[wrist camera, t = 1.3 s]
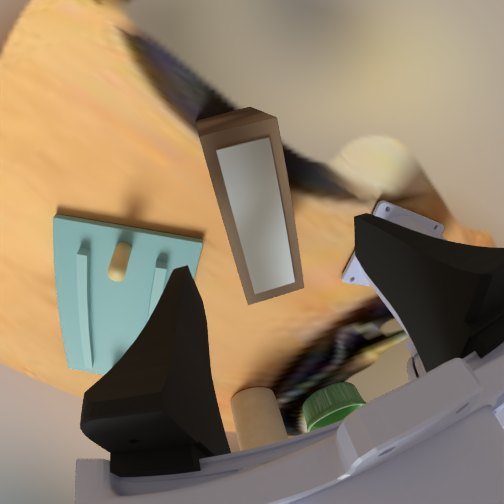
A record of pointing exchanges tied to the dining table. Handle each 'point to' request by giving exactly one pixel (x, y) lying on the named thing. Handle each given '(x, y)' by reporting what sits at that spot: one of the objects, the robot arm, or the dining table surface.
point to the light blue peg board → (111, 284)
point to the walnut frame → (254, 200)
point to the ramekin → (331, 405)
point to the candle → (257, 418)
